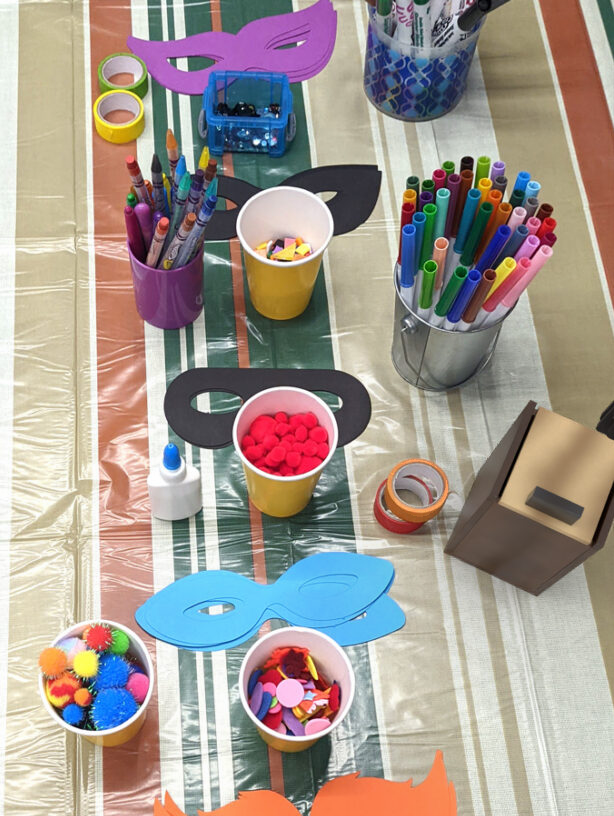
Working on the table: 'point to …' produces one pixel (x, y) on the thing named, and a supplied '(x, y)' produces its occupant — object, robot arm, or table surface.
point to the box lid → (561, 476)
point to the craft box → (517, 525)
